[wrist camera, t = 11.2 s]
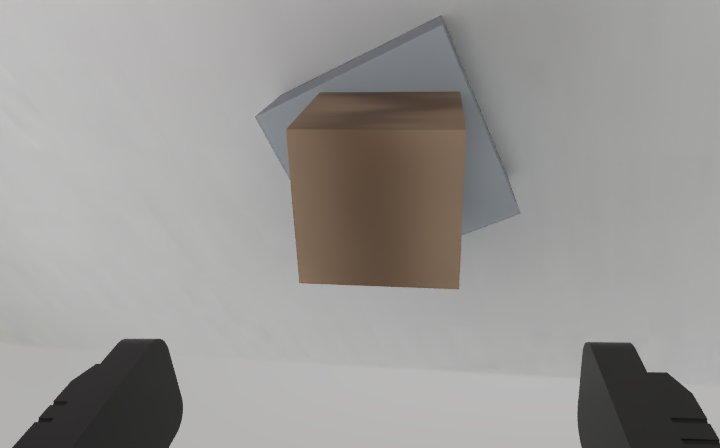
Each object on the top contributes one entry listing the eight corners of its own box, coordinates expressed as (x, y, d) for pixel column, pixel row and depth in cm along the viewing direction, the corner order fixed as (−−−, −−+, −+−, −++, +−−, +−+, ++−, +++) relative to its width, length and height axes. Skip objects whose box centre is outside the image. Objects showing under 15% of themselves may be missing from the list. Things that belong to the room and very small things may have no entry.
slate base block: (441, 14, 27) (441, 24, 23) (507, 176, 30) (520, 213, 26) (282, 94, 30) (255, 116, 25) (357, 235, 33) (345, 278, 28)
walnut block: (460, 91, 24) (466, 129, 18) (454, 221, 26) (458, 289, 21) (319, 92, 24) (285, 129, 19) (327, 218, 27) (299, 283, 22)
